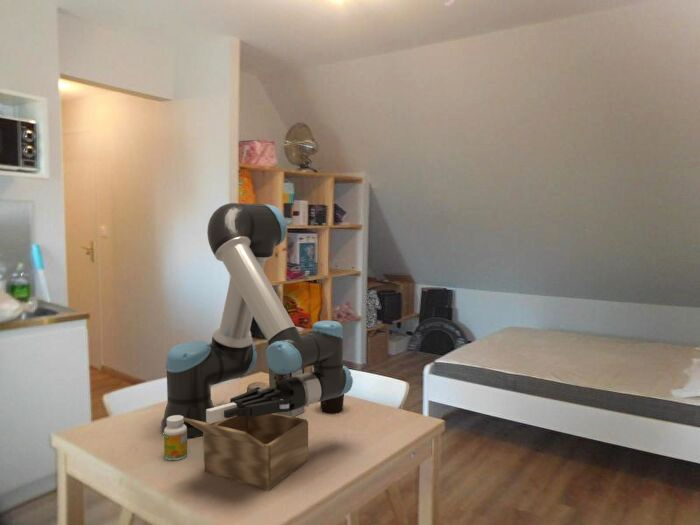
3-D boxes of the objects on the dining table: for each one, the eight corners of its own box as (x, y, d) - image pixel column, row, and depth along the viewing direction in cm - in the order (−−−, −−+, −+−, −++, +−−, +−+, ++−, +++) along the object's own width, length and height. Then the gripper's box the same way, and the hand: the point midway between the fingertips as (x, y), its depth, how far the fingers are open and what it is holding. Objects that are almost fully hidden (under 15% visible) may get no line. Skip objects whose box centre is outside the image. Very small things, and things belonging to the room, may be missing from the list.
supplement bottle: (159, 459, 129) (158, 420, 128) (174, 450, 134) (173, 412, 133) (177, 462, 127) (176, 423, 126) (192, 453, 132) (191, 415, 132)
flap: (204, 429, 121) (203, 431, 121) (183, 417, 115) (182, 419, 115) (264, 444, 113) (263, 446, 113) (245, 432, 108) (244, 434, 107)
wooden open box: (202, 471, 123) (201, 429, 122) (247, 444, 137) (247, 407, 137) (270, 491, 114) (269, 446, 113) (310, 460, 129) (310, 420, 128)
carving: (265, 431, 146) (265, 389, 145) (240, 428, 148) (240, 386, 147) (274, 423, 152) (274, 382, 151) (250, 420, 154) (250, 380, 153)
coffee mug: (342, 416, 157) (342, 383, 157) (314, 414, 159) (314, 381, 158) (350, 403, 169) (350, 372, 168) (324, 401, 171) (324, 370, 170)
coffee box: (305, 411, 161) (305, 359, 160) (292, 418, 156) (291, 364, 155) (282, 405, 166) (281, 355, 165) (268, 412, 161) (268, 359, 160)
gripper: (314, 414, 123) (224, 443, 107) (281, 400, 132) (193, 425, 116) (314, 382, 122) (223, 407, 106) (281, 370, 132) (193, 391, 116)
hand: (208, 416), depth 111 cm, fingers closed
